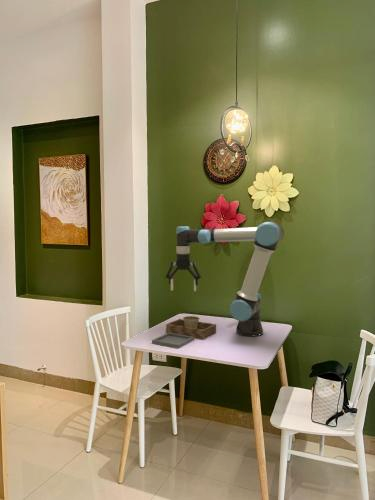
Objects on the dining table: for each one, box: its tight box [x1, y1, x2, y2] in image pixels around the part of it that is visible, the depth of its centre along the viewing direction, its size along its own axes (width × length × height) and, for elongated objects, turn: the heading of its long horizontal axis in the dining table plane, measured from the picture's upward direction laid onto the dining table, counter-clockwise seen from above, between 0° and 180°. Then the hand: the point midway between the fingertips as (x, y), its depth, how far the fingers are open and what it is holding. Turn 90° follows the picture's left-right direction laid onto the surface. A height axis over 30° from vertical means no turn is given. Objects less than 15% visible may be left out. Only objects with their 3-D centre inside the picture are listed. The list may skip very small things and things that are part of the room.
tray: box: [151, 333, 195, 349], centre depth 202 cm, size 16×16×2 cm
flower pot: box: [182, 315, 200, 329], centre depth 218 cm, size 9×9×9 cm
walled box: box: [165, 318, 217, 341], centre depth 218 cm, size 24×15×5 cm, turn 60°
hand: (183, 290), depth 221 cm, fingers open, 13 cm apart
